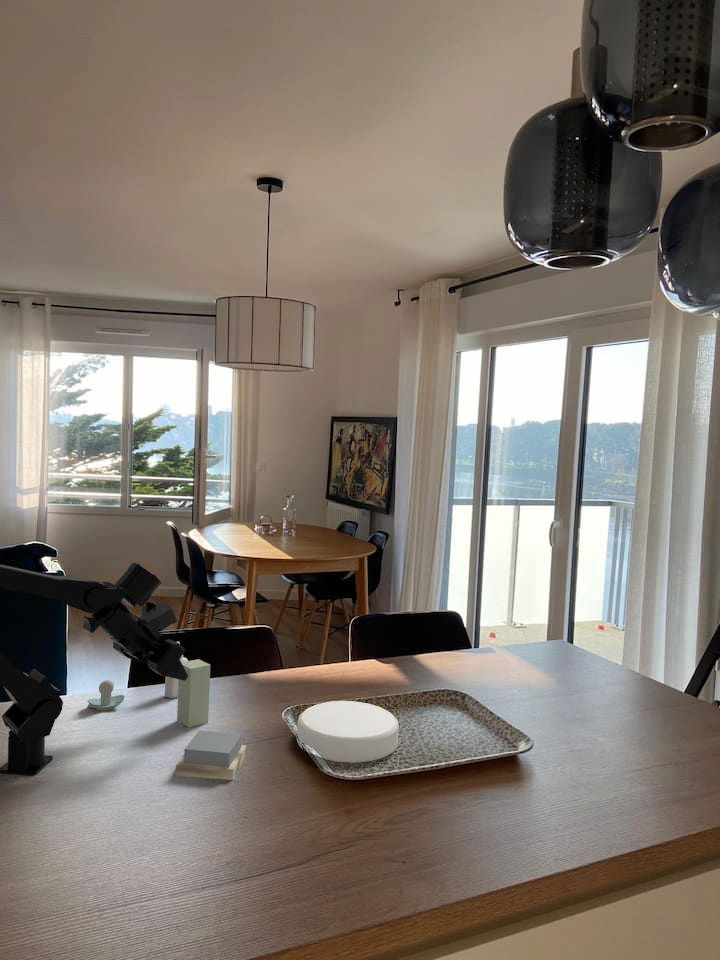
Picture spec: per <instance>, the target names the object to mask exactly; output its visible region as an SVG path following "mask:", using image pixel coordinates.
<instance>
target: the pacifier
mask: <svg viewBox="0 0 720 960" xmlns="http://www.w3.org/2000/svg"><path fill="white" fill-rule="evenodd" d="M114 688H115V686H114V683H113V681H112V680H110V679H109V680H104V681H102V682H101V683H100V684H99V686H98V692H99V693H100V698H88V699H87V703H88V704H87V707H88V708H91V709H95V710H97V711H109V710H112V709H115V708H116V707H117V706H120V704H121V703H123V702H124V700H125V695H123V694H119V695H114V696H113V695H112V692H113V691H114Z"/></svg>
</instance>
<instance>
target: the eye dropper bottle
mask: <svg viewBox="0 0 720 960" xmlns="http://www.w3.org/2000/svg"><path fill="white" fill-rule="evenodd" d="M176 642H177V643H179V644H180V645H181V643H180V641H176ZM180 661H181V663H182V662H187V661H189V660H188V658H187V657H186V656H185V657H184V654H183V655H182V656H181V657H180ZM164 677H165V678H164V679H165V680H164V682H165V683H164V697H165V698H168V699H178V682H179V679H175V678H170V677H166V676H164Z"/></svg>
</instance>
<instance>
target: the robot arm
mask: <svg viewBox="0 0 720 960" xmlns="http://www.w3.org/2000/svg"><path fill="white" fill-rule="evenodd" d="M162 584H163V583H162V581H161V580H160V579H159V578H158V576H156V575H155V574H153V573H152V572H150V571H148V569H146V568H145V567H143V566H142V565H141V564H140V563H137V562H134V561H133V562H132V563H131V564H130V565H129V566H128V568H127V569H126V571H125V572H124V573H123V574H122V575H121V577H119V579H118V580H117V581H116V582H114V583H112V582H110V581H98V580H97V579H94V578H93V577H90V576H87V575H71V574H69V575H51V574H47V573H41V572H37V571H32V570H28V569H23V568H18V567H14V566H9V565H4V564H0V590H6V591H11V592H15V593H19V594H20V593H21V594H26V595H30V596H36V597H42V598H45V599H46V598H47V599H52V600H55V601H57V602H60V603H63V604H65V605H67V606H69V607H72V608H74V609H76V610H79V611H82V612H85V613H87V615H86V614H85V615H83V623H82V629H84V630H86V631H87V632H89V633H91V634H93V633H94V632H95V631H96V630H97V629H98V628H100V629H101V630H102V631H103V632H104V633H106V634H107V635H108V636H109V637H110V640H111V641H112V644H113V645H112V648H113V650H115V651H116V652H118V653H119V654H120V655H122V656H124V657H125V658H127V659H129V660H132V661H134V662H135V661H136V662H139V663H142V664H146V665H147V667H148V668H149V669H150V670H151V671H153V672H154V673H156V674H157V675H159V676H161V677H165V676H166V677H170V678H175V679H179V680H184V681H185V680H186V679H187V678H188V675H187V673H186V671H185V669H184V667H183V665H182V663H181V661H180V657H181V656H182V655H183V656H184V654H185V652H186V651H185V650H186V649H185V648H184V647H183V645H182V644H181V643H180V644H179V643H177V642H178V641H175V640H172V639H170V638H169V639H164V640H162V642H159V641H157V640H160V638H161V637H162V636H163V634H162V633H161V632H162V631H163V630H165V629H166V628H168V627H169V626H171V625H174V624H176V623H177V622H178V619H179V618H178V617H177V616H176V615H177V614H176V612H175V611H174V608H173V606H172V605H170V604H167V603H166V602H157V603H156V604H155V602H153V601H150V600H149V599H150V598H151V597H152V596H153V595H154V594H155V592H156V591H157V590H158V588H160V586H161V585H162ZM123 602H124V603H125V604H126V605H128V606H129V607H130V608H133V609H134V608H136V606H137V607H138V608H141V615H140V616H137V614H134V612H132V611H131V610H130V609H129V608H128V607H127V606H126V605H124V603H123ZM0 686H2V687H3V688H4V690H5V692H6V694H7V695H8V697H9V698H10V700H11V701H12V704H11V705H10V706H8V709H6V710H5V711H4V713H3V714H2V715H1V719H2V722H3V724H4V726H5V727H6V728H7V729H9V731H8V737H7V739H8V741H7V762H5V763H4V764H3V765H1V766H0V773H2V774H3V773H5V774H17V775H27V776H28V775H30V776H31V775H37V774H38V773H39V772H40V771H41V770H43V769H44V767H46V766H47V765H49V763H50V762H51V761H53V759H54V757H53V755H50V754H49V755H46V754H45V750H46V749H45V748H46V747H45V745H46V743H45V742H46V737H49V736H50V735H51V734H52V733H51V732H52V730H53V727H54V724H55V722H56V720H57V719H58V717H59V716H60V715H61V712H62V711H63V705H64V702H63V701H64V700H63V698H62V697H61V696H60V695H59V694H61V693H62V691H61V690H60V689H59V688H57V687H56V686H55V685H53V684H52V683H51V682H50V681H49V679H48V678H47V677H46V676H45V675H44V674H42V673H40V672H39V671H38V670H37V669H35V668H33V669H32V670H31V671H30V673H29V674H27V673H26V672H24V671H22V670H21V669H20V668H19V667H18V666H17V665H16V664H15V663H14V662H13V661H12V660H11V659H9V658H8V656H6V655H5V654H4V652H2V651H1V650H0Z"/></svg>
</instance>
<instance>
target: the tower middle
mask: <svg viewBox="0 0 720 960" xmlns="http://www.w3.org/2000/svg"><path fill="white" fill-rule="evenodd" d="M242 738H243V734H241V733H233V732H224V731H223V732H222V731H221V732H220V731H210V730H202V729H201V730H200V729H199V730H198V732H196V734H195V735H194V736H193V737H192V739H191V740H190V741H189V742H188V744H187V745H186V746H185V748H184V749H183V750H184V751H183V752H184V753H183V755H184V763H189V764H199V765H210V766H221V767H230V765H231V763H232V762H233V760H234V759H235V757H236V755H237V754H238V752H239V750H240V749H241V745H242V742H243V741H242V740H243V739H242Z"/></svg>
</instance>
